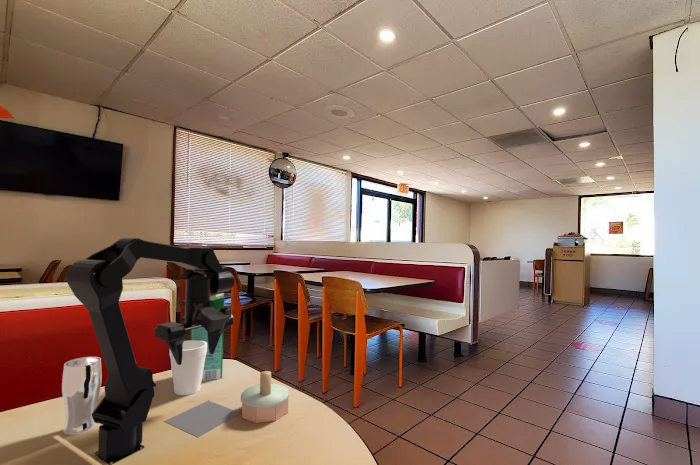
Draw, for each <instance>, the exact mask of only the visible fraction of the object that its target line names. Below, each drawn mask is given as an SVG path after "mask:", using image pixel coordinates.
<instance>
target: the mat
mask: <svg viewBox="0 0 700 465" xmlns="http://www.w3.org/2000/svg"><path fill="white" fill-rule="evenodd" d="M239 415H242V412H239V411H237V410H235V409H232V408H229V407H228V406H227V407H226V406H224V405H221V404H219V403H216V402H213V401H210V400H207V401H205V402H203V403H200V404H198V405H196V406H194V407H192V408H189V409H186V410H185V411H183V412H180V413H178V414H176V415H173V416H172V417H170V418H168V419H166V420H164V421H163V422H165V423H167V424H168V425H171V427H175V428H177V429H179V430H181V431H183V432H185V433H187V434H189V435H192V436H194V437H196V438H200V437H201V436H203V435H205V434H206V433H208V432H210V431H212V430H214V429H215V428H217V427H219V426H221V425H223V424H225V423H227V422H229V421H230V420H232V419H234V418H235V417H237V416H239Z"/></svg>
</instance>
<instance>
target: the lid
mask: <svg viewBox="0 0 700 465" xmlns="http://www.w3.org/2000/svg"><path fill="white" fill-rule="evenodd" d="M259 374H260V378H259V384H255V385H252V386H250V387H247V388H245V389H244V390H242V392H241V394H240V402H241V404H242V403H243V404H244V405H246V406H248V407H252V408H268V407H273V406H277V405H279V404H282V403H283V402H285V401H286V400H287V399H288V400H289V398H290V391H289V389H288V387H287V386H285V385H282V384H279V383H272V372H271V371H269V370H264V371H261V372H260V373H259Z"/></svg>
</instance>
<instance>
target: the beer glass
mask: <svg viewBox="0 0 700 465" xmlns="http://www.w3.org/2000/svg"><path fill="white" fill-rule="evenodd" d="M102 372H103V371H102V358H101V357H100V356H99V357H98V356H82V357H79V358H74V359H71V360H68V361H66V362H65V363H64V364H63V371H62V379H61V381H62V382H61V395H62V401H63V405H64V410H65V423H64V425H63V431H62V433H63V434H64V435H68V436H75V435H80V434H84V433H86V432H87V433H88V432H90V431H91V430H93V429H95V428H96V427H97V426H98V424H99V423H95V422H94V420H93V418H92V413H93V412H94V410H95V409H96V408H97V406H98V400H99V396H100V392H101V387H102V377H103V374H102Z"/></svg>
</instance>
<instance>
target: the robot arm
mask: <svg viewBox="0 0 700 465" xmlns="http://www.w3.org/2000/svg"><path fill="white" fill-rule="evenodd" d="M140 259H144V260H153V261H160V262H167V263H174V264H176V265H177V266H179V267H182V268H185V270H184V272H183V273H182V274H179V276H178V280H181V281H185V298H184V299H185V300H181V305H182V306H184V309H185V310H184V316H181V322H182V323H178V322H174V321H170V322H169V321H168V322H164V323H159V324H157V325H156V327H155V329H154V338H158V339H159V340H162V341H164V342H165V344H166V345H167V347H168V349H169V351H170V350H171V352H172V354H173V356H174V358H175V361H176V363H177V364H178V365H181V363H182V345H183V342H184V341H186V337H184V335H185V334H186V332H187V331H191V330H192V329H196V328H200V327H204V328H205V330H206V331H207V334H208V346H209V352H210V354H214V351H215V349H216V346H217V344H218V341H219V338H220V336H221V334H222V333H223V334H224V332H225V331H226V330H227V329H230V326H231V325H234V315H233V314H232V308H230V307H229V306H224V307H223V308H221V309H220V308H219V309H216V308H215V307H214V302H213V301H214V300H210V296H211V295H215V294H220V293H224V292H228V291H230V290H232V289H233V287H234V286H235V277H234V275H233V274H232V273H231V272H230V271H229V270H230V268H229V266H222V264H221V263H220V261H219V259H218V257H217V255H216V253H215V249H213V248H212V247H208V246H177V245H171V244H167V243H166V244H165V243H160V242H154V241H149V240H143V239H141V238H138V237H136V238H135V237H121V238H120V239H118V240H116V241H115V242H114V243H113V244H111V245H109V246H107V247H105V248H103V249H101V250H98V251H96V252H94V253H92V254H91V255H89V256H88V257H86V258H84V259H80V260H77V261H76V262H74V263H73V264H72V265H70V267H69V269H68V270H67V271H66V273H65V279H66V280H65V281H66V283H67V285H68V286H69V288H70V290H71V292H72V294H73V295H74V297H75V298H77V300H78V301H79V302H80V303H81V304H82V305H83V306H84V307H85V308H86V309H87V311H88V314H89V317H90V320H91V323H92V327H93V329H94V333H95V336H96V338H97V342H98V345H99V349H100V352H101V355H102V358H103V361H104V364H105V367H106V371H107V374H108V375H107V378H106V380H105V383H104V384H105V385H104V394H105V395H104V397H103V398H102V399H101V401H100V403H98V404H97V406H96V409H95V410H94V412H93V413H92V418H93V420H94V422H95V423H98V424H100V425H99V426H98V446H97V448H98V450H97V451H95V452H94V453H93V455H94V456H95V457H97V459H98V458H99V460H101V461H103V462H104V463H105V464H107V465H114V464H116V463H118V462H120V461H122V460H125V459H126V458H128V457H130V456H132V455H134V454H136V453H138V452H140V451H141V450H143V449H145V446H144V445H142V443H143V431H144V430H143V424H144V422H146V421H147V418H148V416H149V412H150V408H151V405H152V402H153V399H154V397H155V394H156V393H155V387H156V386H157V383H156V382H155V381H154V376H153V371H152V370H151V368H147V367H143V366H138V364H137V361H136V358H135V353H134V351H133V348H132V347H133V346H132V344H131V341H130V336H129V334H128V330H127V326H126V323H125V319H124V316H123V312H122V309H121V305H120V298H121V297H122V292H123V289H124V286H123V285H124V282H123V278H125V276H127V275H128V274H130V273H131V272H132V271H133V268H134V267H135V265H136V263H137V261H138V260H140ZM191 325H194V326H191Z"/></svg>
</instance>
